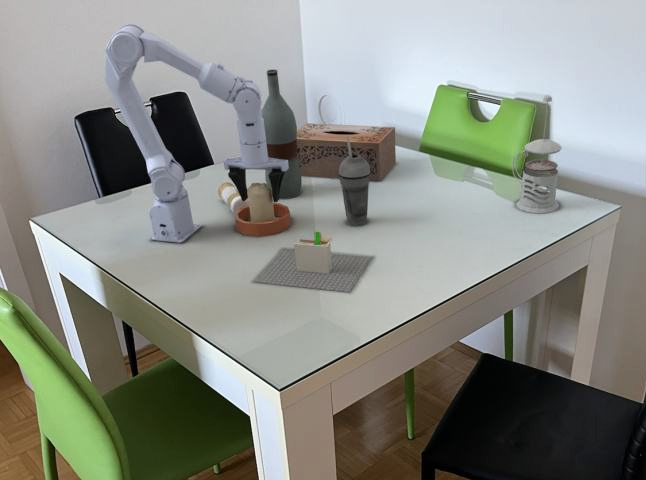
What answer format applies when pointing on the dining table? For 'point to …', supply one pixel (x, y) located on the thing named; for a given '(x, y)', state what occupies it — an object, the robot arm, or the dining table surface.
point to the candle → (260, 203)
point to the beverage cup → (355, 187)
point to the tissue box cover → (344, 148)
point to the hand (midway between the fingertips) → (260, 200)
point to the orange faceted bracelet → (263, 227)
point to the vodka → (281, 137)
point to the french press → (539, 197)
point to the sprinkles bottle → (231, 197)
